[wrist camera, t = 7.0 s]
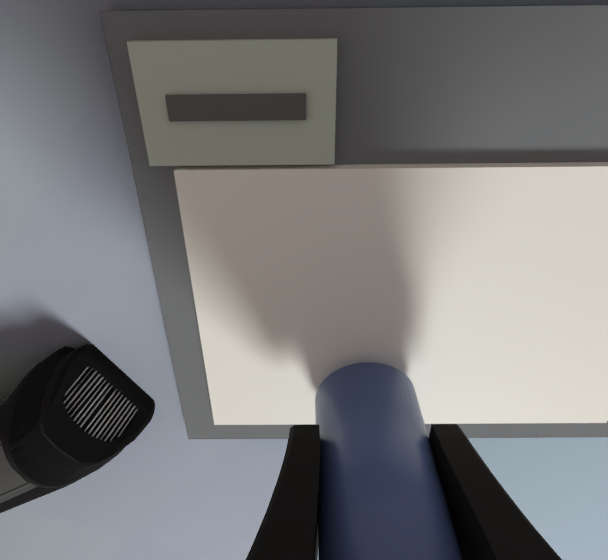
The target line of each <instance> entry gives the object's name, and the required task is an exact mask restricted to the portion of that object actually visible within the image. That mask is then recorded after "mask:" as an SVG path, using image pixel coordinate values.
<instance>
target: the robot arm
mask: <svg viewBox="0 0 608 560" xmlns="http://www.w3.org/2000/svg"><path fill="white" fill-rule="evenodd" d="M429 441H430V445H431V448H432V452H433V456H434V459H435V463H436V466H437V470H438V473H439V477H440V480H441V484H442V487H443V491H444V494H445V498H446V502H447V505H448V509H449V512H450V516H451V519H452V523H453V526H454V530H455V533H456V537H457V540H458V544H459V547H460V551H461V555H462V558H463V560H562V559H561V558H560V557H559V556H558V555H557V554H556V552H555V551H554V550H553V549H552V548H551V547H550V546H549V544H548V543H547V542H546V541H545V540H544V538H543V537H542V536H541V535H540V534H539V533H538V531H537V530H536V529H535V528H534V527H533V525H532V524H531V523H530V522H529V521H528V519H527V518H526V517H525V516H524V514H523V513H522V512H521V511H520V509H519V508H518V507H517V505H516V504H515V503H514V502H513V500H512V499H511V498H510V496H509V495H508V494H507V493H506V491H505V490H504V489H503V487H502V486H501V485H500V483H499V482H498V481H497V479H496V478H495V477H494V475H493V474H492V473H491V471H490V470H489V468H488V467H487V466H486V464H485V463H484V462H483V460H482V459H481V457H480V456H479V454H478V453H477V452H476V450H475V449H474V447H473V446H472V444H471V443H470V441H469V440H468V438H467V437H466V435H465V434H464V432H463V431H462V429H461V428H460V427H459V426H458V425H457V424H431V429H430V434H429ZM319 487H320V430H319V425H293V426H292V427H291V428H290V432H289V439H288V444H287V449H286V453H285V457H284V461H283V464H282V468H281V471H280V474H279V478H278V481H277V483H276V486H275V489H274V492H273V495H272V498H271V500H270V503H269V506H268V509H267V511H266V514H265V516H264V519H263V521H262V524H261V526H260V528H259V531H258V533H257V536H256V538H255V540H254V543H253V545H252V547H251V550H250V552H249V554H248V556H247V558H246V560H317V557H318V504H319Z"/></svg>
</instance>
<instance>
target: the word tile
mask: <svg viewBox="0 0 608 560" xmlns="http://www.w3.org/2000/svg"><path fill="white" fill-rule="evenodd" d="M127 47H128V53H129V58H130V63H131V69H132V74H133V79H134V85H135V90H136V95H137V101H138V106H139V111H140V117H141V122H142V127H143V133H144V138H145V144H146V149H147V154H148V160H149V165H150V166H214V165H320V164H334V160H335V119H336V77H337V38H311V39H224V40H138V41H128V42H127Z"/></svg>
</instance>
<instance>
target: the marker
mask: <svg viewBox="0 0 608 560" xmlns="http://www.w3.org/2000/svg"><path fill="white" fill-rule="evenodd" d="M315 420H316V425H319V430H320V487H319V504H318V548H319V560H463V558H462V555H461V551H460V547H459V544H458V540H457V537H456V533H455V530H454V526H453V523H452V519H451V516H450V512H449V509H448V505H447V502H446V498H445V494H444V491H443V487H442V484H441V480H440V477H439V473H438V470H437V466H436V463H435V459H434V456H433V452H432V448H431V445H430V441H429V438H428V434H427V431H426V427H425V424H424V420H423V417H422V413H421V410H420V406H419V403H418V399H417V395H416V392H415V388H414V386H413V384H412V382H411V380H410V379H409V378H408V377H407V376H406V375H405V374H404V373H403V372H401V371H400V370H398V369H396V368H394V367H392V366H389V365H386V364H382V363H374V362H362V363H355V364H351V365H348V366H345V367H342V368H340V369H338V370H336V371H334V372H333V373H331V374H330V375H329V376H328V377H326V378H325V379H324V381H323V382H322V383H321V384H320V386H319V388H318V390H317V392H316V396H315Z"/></svg>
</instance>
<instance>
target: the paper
mask: <svg viewBox="0 0 608 560" xmlns="http://www.w3.org/2000/svg"><path fill="white" fill-rule="evenodd" d="M173 171H174V177H175V183H176V189H177V196H178V202H179V208H180V214H181V221H182V227H183V233H184V239H185V245H186V252H187V258H188V264H189V270H190V277H191V283H192V289H193V295H194V302H195V308H196V314H197V320H198V326H199V333H200V339H201V345H202V351H203V358H204V364H205V370H206V376H207V383H208V389H209V395H210V401H211V408H212V414H213V420H214V425H301V424H316V420H315V396H316V392H317V390H318V388H319V386H320V384H321V383H322V382H323V381H324V379H325V378H326V377H328V376H329V375H330V374H331V373H333V372H334V371H336V370H338V369H340V368H342V367H345V366H348V365H351V364H355V363H362V362H374V363H382V364H386V365H389V366H392V367H394V368H396V369H398V370H400V371H401V372H403V373H404V374H405V375H406V376H407V377H408V378H409V379H410V380H411V382H412V384H413V386H414V388H415V392H416V395H417V399H418V403H419V406H420V410H421V413H422V417H423V420H424V424H503V423H607V421H608V162H567V163H461V164H354V165H248V166H176V168H175V169H174V170H173Z"/></svg>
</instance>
